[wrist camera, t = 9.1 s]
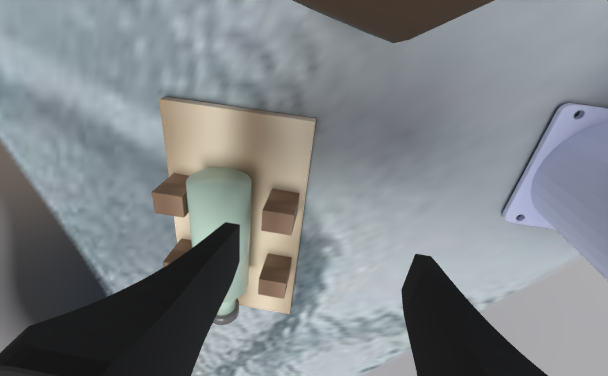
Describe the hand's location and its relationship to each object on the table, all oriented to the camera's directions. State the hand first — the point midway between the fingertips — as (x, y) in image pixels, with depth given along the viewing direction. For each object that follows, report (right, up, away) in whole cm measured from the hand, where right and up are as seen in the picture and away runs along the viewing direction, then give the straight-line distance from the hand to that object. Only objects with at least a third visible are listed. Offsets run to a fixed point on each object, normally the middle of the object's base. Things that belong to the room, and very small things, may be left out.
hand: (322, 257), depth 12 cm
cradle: (-6, 0, +12) cm, 13 cm away
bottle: (-6, -1, +11) cm, 13 cm away
